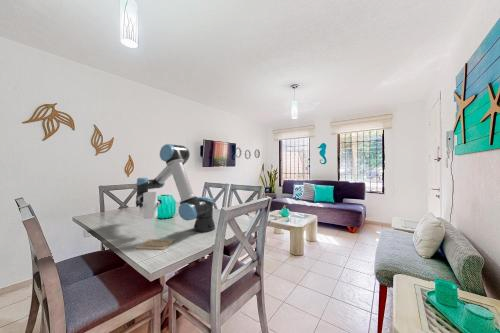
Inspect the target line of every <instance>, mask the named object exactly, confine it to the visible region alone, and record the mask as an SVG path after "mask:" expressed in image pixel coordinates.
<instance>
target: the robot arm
mask: <svg viewBox="0 0 500 333" xmlns="http://www.w3.org/2000/svg"><path fill="white" fill-rule="evenodd" d="M190 155H191V154H190V151H189V149H188V148H187V147H186V146H184V145H179V144H171V143H166V144H164V145H162V147H161V148H160V150H159V158H160V160H161V161H163V162H165V163H166V166H165V167H164V168H163V169H162V170H161V171H160V172H159V174H157V176H156V177H155V178H154V179H153V178H152V179H149V178H148V177H138V178H136V195H135V199H136V200H135V207H137V208H138V207H139V208H142V209H143V208H145V204H144V203H143V193H146V192H149V190H154V189H161V188H163V187H164V186H165V185H166V184H165V183H166V181H167V180H168V179H169V178H170V177H171V176H173V179H174V180H173V181H174V184H175V187H176V189H177V192H178V195H179V199H180V201H179V206H178V215H179V217H180V218H181V219H182V220H184V221H193V220H195V221H194V224H193V231H195V232H198V233H207V232H212V231H214V230H215V229H216V225H215V224H216V223H215V221H214V218H213V215H214V212H213V211H214V201H213V200H214V199H213V198H212V197H207V196H197V195H195V194H194V192H193V190H192V186H191V183H190V180H189V178H188V175H187V172H186V170H185V167H184V165H185V164H186V163H187V162H188V161H189V159H190ZM162 202H163V199H159V198H157V207H161V205H162V204H163V203H162Z"/></svg>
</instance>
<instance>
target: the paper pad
mask: <svg viewBox="0 0 500 333" xmlns="http://www.w3.org/2000/svg"><path fill="white" fill-rule="evenodd" d="M174 241H175V239H164V238H163V239H162V238H161V239H159V238H157V239H155V238H148V239H147V240H146V241H145V240H144V242H142V243H141V244H140V245H139V246H137V247H135V250H137V249H138V250H166V249H167V248H168V247H169V246H170V245H171V244H172V243H173V242H174Z"/></svg>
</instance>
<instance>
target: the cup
mask: <svg viewBox="0 0 500 333" xmlns="http://www.w3.org/2000/svg"><path fill="white" fill-rule="evenodd" d="M157 199H158V192H157V191H148V192H146V193H143V203H144V204H145V208H143V207H142V209H143V212H142V213H143V214H142V218H143V219H145V220H149V219H155V218H157V217H158V206H157Z"/></svg>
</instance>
